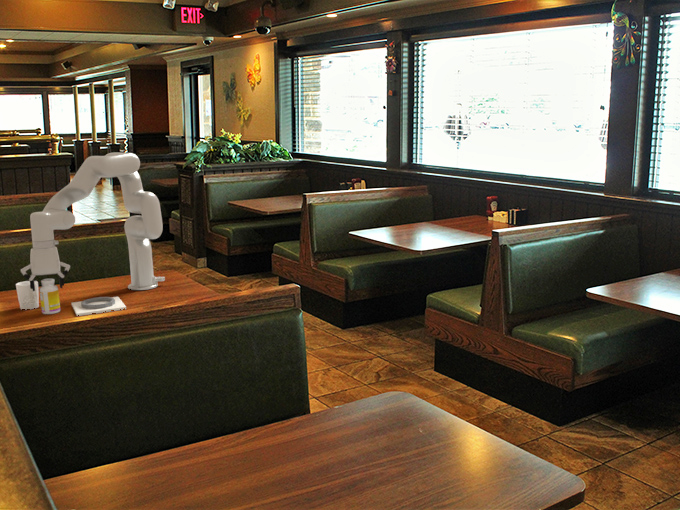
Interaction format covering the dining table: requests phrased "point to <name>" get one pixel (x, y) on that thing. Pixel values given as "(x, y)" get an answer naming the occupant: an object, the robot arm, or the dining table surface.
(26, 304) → the white cup
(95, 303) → the mount board
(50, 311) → the supplement bottle
